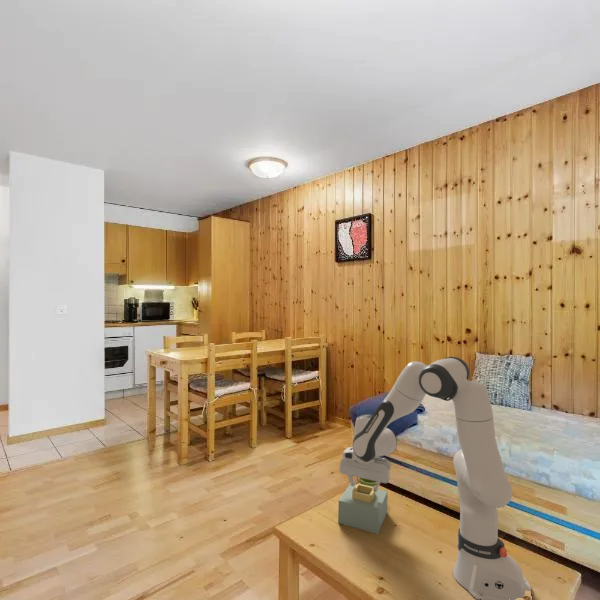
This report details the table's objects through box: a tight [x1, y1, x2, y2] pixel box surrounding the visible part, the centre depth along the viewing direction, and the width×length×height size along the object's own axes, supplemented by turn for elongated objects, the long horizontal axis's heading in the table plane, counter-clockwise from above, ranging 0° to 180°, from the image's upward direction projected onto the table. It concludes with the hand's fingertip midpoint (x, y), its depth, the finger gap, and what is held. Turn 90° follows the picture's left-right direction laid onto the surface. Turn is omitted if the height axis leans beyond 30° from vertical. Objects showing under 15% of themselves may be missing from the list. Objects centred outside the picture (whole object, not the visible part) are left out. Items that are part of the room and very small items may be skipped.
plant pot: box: [358, 477, 377, 487], centre depth 174 cm, size 9×9×9 cm
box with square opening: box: [337, 482, 389, 535], centre depth 158 cm, size 16×16×12 cm
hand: (364, 488), depth 158 cm, fingers open, 8 cm apart
